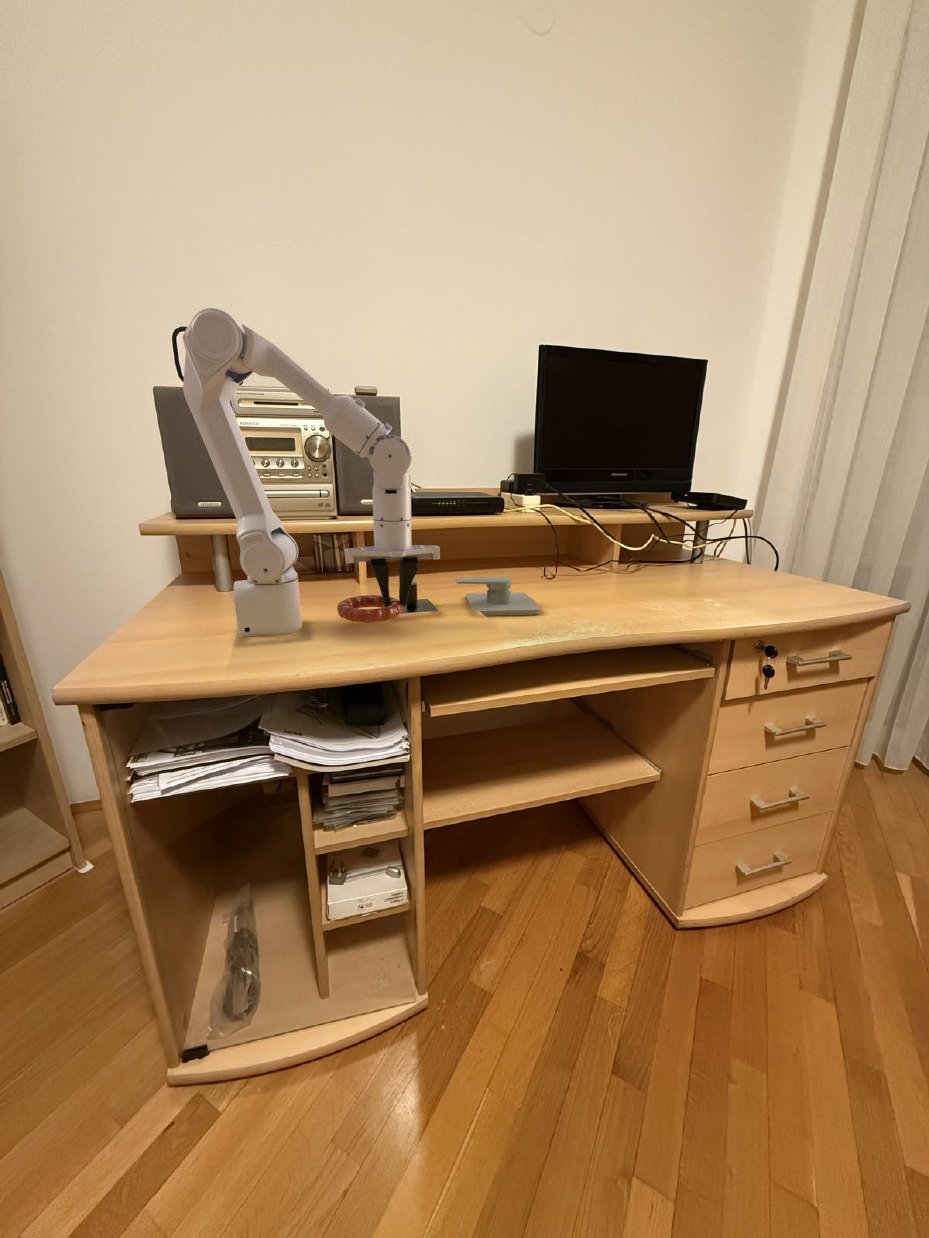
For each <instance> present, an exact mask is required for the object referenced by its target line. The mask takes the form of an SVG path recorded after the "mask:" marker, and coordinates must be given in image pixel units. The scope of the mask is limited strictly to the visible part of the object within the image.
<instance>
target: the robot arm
mask: <svg viewBox="0 0 929 1238" xmlns="http://www.w3.org/2000/svg"><path fill="white" fill-rule="evenodd" d="M181 336H182V342H183V346H184V349H185V356H184V358H185V359H184V368H183V369H184V371H183V384H182V392H183V396H184V398H185V401H186V403H187V405H188V407H189V410H190V412H191V415H192V417H193V420H194V422H195V424H196V427H197V429H198V432H199V434H200V436H201V439H202V442H203V443H204V446H205V448H206V451H207V452H208V456H209V457H210V460H211V462H212V465H213V467H214V469H215V471H216V474H217V477H218V479H219V482H220V484H221V487H222V488H223V491H224V493H225V496H226V498H227V500H228V502H229V506H230V507H231V510H232V513H233V514H234V517H235V519H236V522H237V523H236V536H235V537H236V541H237V543H238V546H239V549H240V553H239V563H240V567H241V569H242V571H243V572H244V574H245V575H246V576H247V579H245V580H236V581H234V582H233V600H234V601H233V602H234V608H235V617H236V619H235V621H236V627H237V629H238V630H237V631H238V637H239V638H245V637H246V638H247V637H257V636H282V635H288V634H292V633H295V632H297V631H299V630H300V629H301V628H302V627H303V618H302V607H301V596H300V586H299V577H298V576H299V574H298V572H297V571H296V570H295V568H294V565H295V564H296V562H297V560H298V557H299V547H298V544H297V542H296V540H295V539H294V537H292V536H291V535H290V534H289V533H288V532H287V531H286V529H285V527H284V525H283V522H282V520H281V519H280V518H279V517H278V516H277V515H276V513H275V512H274V511H273V509H272V506H271V504H270V501H269V499H268V496H267V494H266V492H265V488H264V485H263V483H262V481H261V478H260V477H259V473H258V470H257V468H256V465H255V463H254V461H253V458H252V456H251V453H250V450H249V448H248V445H247V443H246V440H245V438H244V435H243V433H242V429H241V428H240V425H239V423H238V420H237V417H236V415H235V413H234V410H233V407H232V405H231V401H232V398H233V397H234V395H235V393H236V391H237V389H238V388H239V386H240V385H241V384H242V383H243V382H244V381H245V380H247V379H248V378H249V377H250V376H251V375H253V374H256V375H258V376H260V377H266V378H274V379H275V380H277V381H278V382H280V383H281V384H282V385H283V386H285V388H287V389H288V390H290V391H291V392H293V393H294V394H295V395H296V396H298V397H299V398H300V399H301V400H303V401H305V403H306V404H308V405H310V406H311V407H312V408H313V409H314V410H316V411H318V412H319V413H320V414H321V415H322V418H323V419H322V420H323V424H324V429H325V430H326V431H327V432H328V433H330V434H331V435H332V436H333V437H335V438H336V439H337V440H338V441H340V442H341V443H342V444H344V445H345V446H346V447H347V448H348V449H350V450H351V451H352V452H354V453H355V454H356V455H358V457H360V458H361V459H363V458H367V459H368V461H369V464H370V467H371V468H372V469H373V471H372V472H373V474H372V475H373V487H372V489H371V490H372V517H373V518H372V519H373V520H372V521H373V523H372V524H373V544H374V545H372V546H361V547H351V548H348V547H347V548H344V559H345V561H344V562H345V563H346V564H354V563H366V562H367V563H368V565H369V567H370V568H371V570H372V572H373V574H374V577H375V579H376V581H377V584H378V587H379V590H380V593H381V595H382V598H383V604H384V606H385V607H387V606H389V605H390V597H391V596H390V587H389V586H390V582H389V581H390V567H389V566H388V562H387V561H397V566H398V567H397V568H398V577H399V578H398V580H399V585H398V600H399V602H400V603H401V604H402V606H406V602H407V597H408V593H409V589H410V586H411V583H412V582H414V579H415V576H416V574H417V573H418V571H419V568H420V562H419V561H418V560H440V559H441V547H440V546H439V545H435V544H434V545H433V544H432V545H426V544H424V545H422V544H421V545H418V544H412V543H413V542H412V541H413V540H412V489H411V487H410V483H411V475H410V474H409V471H408V470H409V468H410V466H411V464H412V459H413V458H412V455H411V450H410V448H409V445H408V444H407V443H406V442H405V440H403V439H402V438H401V437H400V436H398V435H396V434H390V433H391V431H392V430H393V426H392V425H390V424H389V423H385V424H384V423H383V422H382V421H380V420H379V419H378V418H377V417H376V416H375V415H373V414H372V413H371V412H370V411H368V410H367V409H366V408H365V407H366V403H365V402H364V401H363V400H362V399H360V397H356V398H355V399H354V398H353V397H352V396H350V395H346V394H345V395H334V394H332V392H330V391H329V390H328V389H327V388H326V387H324V385H322V384H321V383H320V381H318V380H317V379H315V378H314V377H313V376H312V375H311V374H310V373H308V372H307V371H306V370H305V369H304V368H302V366H300V365H299V364H298V362H296V361H295V360H294V359H292V358H291V357H290V356H289V355H288V354H286V353H285V352H284V351H283V350H282V349H280V348H279V347H278V346H277V345H275V344H274V343H273V342H272V341H270V340H268V339H267V338H265V337H264V336H262V335H260V334H259V333H258V332H256V331H254V330H253V329H251V328H250V327H248V326H246V325H245V324H243V323H241V325H240V324H239V323H238V322H237V320H235V318H233V317H232V316H231V315H230V314H229V313H228V312H226V311H225V310H222V309H219V308H215V307H207V308H202V309H201V310H199V311H198V312H197V313H195V314H194V315H193V317H192V319H191V320H190V321H189V324H188V325H187V327H186V329H185V330H184V331H183V334H182V335H181ZM246 628H249V630H246Z"/></svg>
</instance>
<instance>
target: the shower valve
mask: <svg viewBox="0 0 929 1238" xmlns="http://www.w3.org/2000/svg"><path fill="white" fill-rule="evenodd" d="M455 583H456V584H458V585H486V588H488V589H487V591H486V592H470V593H469V592H468V593H466V594H465V601H467V602H468V603H469V604H470V606H471V608H472V610H473V611H475V612H480V613H481V614H482V615H484V616H485V617H496V616H498V617H499V616H536V615H539V614H540V607H539V606H538V605H537V604H536V602H534V601H533V600H532V598H531V597H530V596H529V595H528V594H527V593H526V592H523V591H522V592H521V591H520V592H519V591H518V592H517V591H515V592H514V591H513V592H511V590H510V589H511V588H512V579H511V578H510V577H506V576H477V577H456V578H455Z"/></svg>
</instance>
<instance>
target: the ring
mask: <svg viewBox="0 0 929 1238" xmlns="http://www.w3.org/2000/svg"><path fill="white" fill-rule="evenodd" d="M365 608H366V609H365ZM402 609H403V607H402V604H401V603H400V602H399V598H396V597H392V596H390V605H389V606H387V607H385V606H384V604H383V598H382V594H381V595H380V594H363V595H356V596H352V597H347V598H345V599H343V600H341V601H340V602H339V603H338V604H337V606H336V610H337V614H338V616H339V617H341V618H342V619H343V620H347V621H350V622H355V623H364V624H365V623H366V624H367V623H378V622H379V623H381V622H385V621H388V620H392V619H394V618H396V617H398V616H399V615H400V613H401V612H402Z"/></svg>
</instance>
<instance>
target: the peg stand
mask: <svg viewBox="0 0 929 1238" xmlns="http://www.w3.org/2000/svg"><path fill="white" fill-rule="evenodd" d="M402 607H403V609H402V612H401V613H400V614H414V613H426V612H437V611H439V609H438V608H437V607H436V606H435V605H434V604H433V603H432V602H431V601H430V600H429V599H428V598H420V599H419V598H418V582H415V581H412V583H411V586H410V589H409V593H408V597H407V602H406V606H402ZM400 614H399V615H400Z"/></svg>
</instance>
